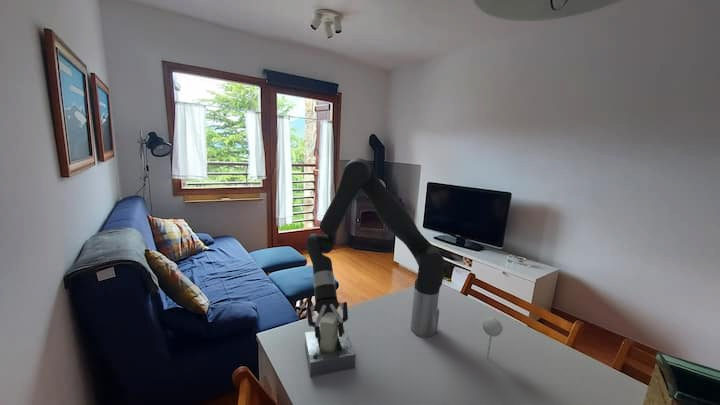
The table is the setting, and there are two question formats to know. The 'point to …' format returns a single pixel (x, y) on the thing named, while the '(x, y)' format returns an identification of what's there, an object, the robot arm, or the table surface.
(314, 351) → the housing
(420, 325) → the robot arm
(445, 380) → the table surface
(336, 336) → the skincare box
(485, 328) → the lollipop
